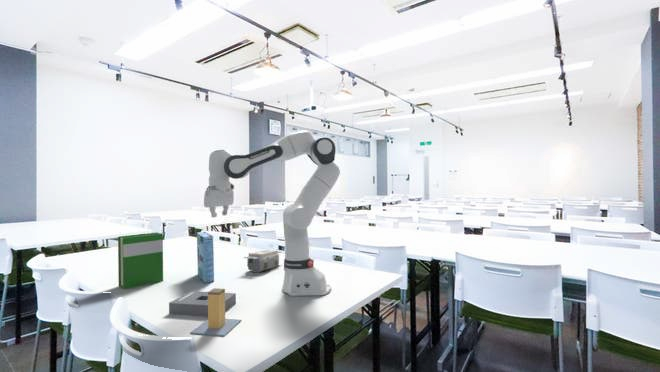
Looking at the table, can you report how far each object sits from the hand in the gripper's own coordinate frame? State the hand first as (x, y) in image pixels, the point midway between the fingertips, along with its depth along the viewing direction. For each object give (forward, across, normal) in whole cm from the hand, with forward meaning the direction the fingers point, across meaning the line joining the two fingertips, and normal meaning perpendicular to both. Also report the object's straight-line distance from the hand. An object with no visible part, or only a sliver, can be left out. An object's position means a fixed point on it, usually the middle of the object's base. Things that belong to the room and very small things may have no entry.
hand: (219, 216), depth 148 cm
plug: (+34, -35, -18) cm, 52 cm away
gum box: (+34, +19, +19) cm, 44 cm away
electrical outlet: (+34, +42, -4) cm, 54 cm away
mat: (+34, -35, -18) cm, 52 cm away
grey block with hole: (+34, -20, -4) cm, 40 cm away
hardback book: (+34, +5, +45) cm, 57 cm away
